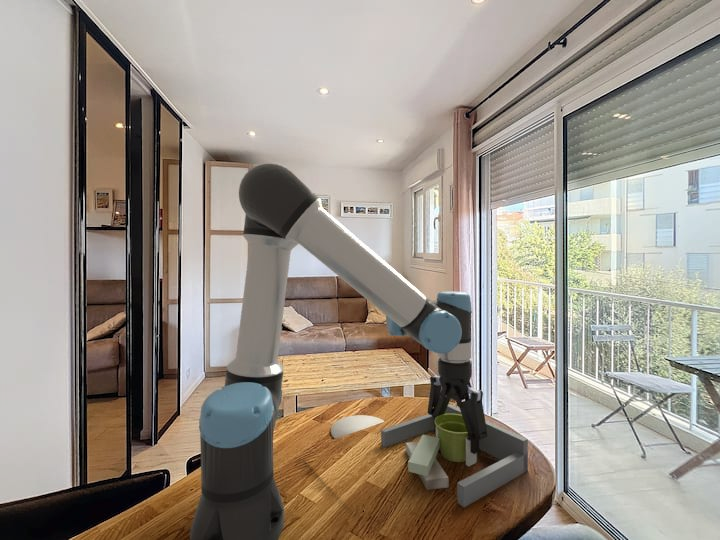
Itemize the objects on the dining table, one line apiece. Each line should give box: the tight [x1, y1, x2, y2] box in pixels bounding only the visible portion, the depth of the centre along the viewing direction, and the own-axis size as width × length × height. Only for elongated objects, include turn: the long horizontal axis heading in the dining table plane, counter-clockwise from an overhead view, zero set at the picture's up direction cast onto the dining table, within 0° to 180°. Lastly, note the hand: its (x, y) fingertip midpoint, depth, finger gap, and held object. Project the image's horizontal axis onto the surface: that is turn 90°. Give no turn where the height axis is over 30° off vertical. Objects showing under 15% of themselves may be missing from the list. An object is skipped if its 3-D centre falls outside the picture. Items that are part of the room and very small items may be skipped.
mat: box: [330, 414, 385, 440], centre depth 92 cm, size 16×16×1 cm
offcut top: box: [407, 434, 441, 476], centre depth 73 cm, size 4×12×2 cm, turn 155°
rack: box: [380, 403, 529, 508], centre depth 77 cm, size 20×26×8 cm
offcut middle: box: [405, 441, 450, 491], centre depth 73 cm, size 4×14×2 cm, turn 9°
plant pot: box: [435, 414, 474, 463], centre depth 78 cm, size 9×9×9 cm
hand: (455, 455), depth 78 cm, fingers closed on plant pot, 8 cm apart
